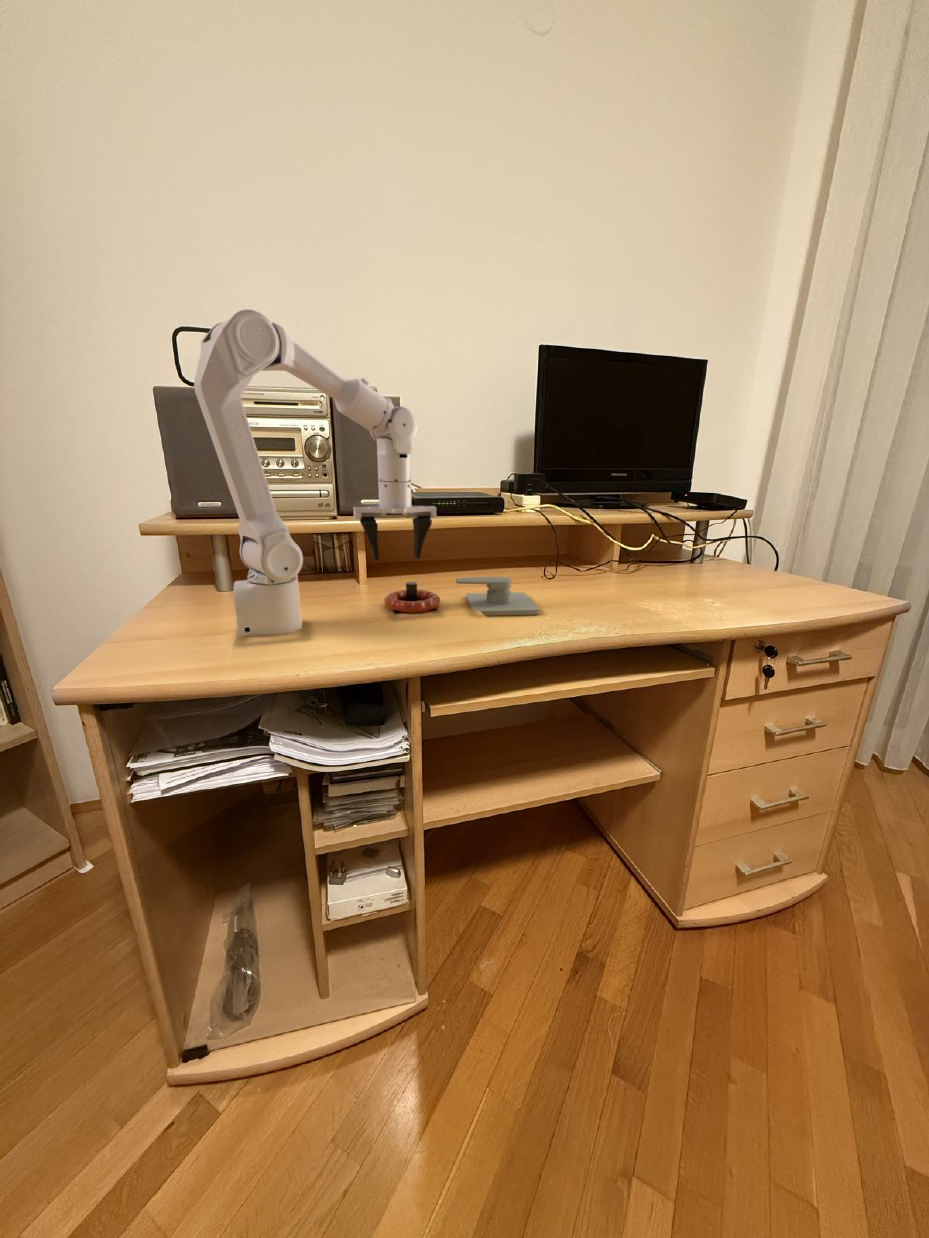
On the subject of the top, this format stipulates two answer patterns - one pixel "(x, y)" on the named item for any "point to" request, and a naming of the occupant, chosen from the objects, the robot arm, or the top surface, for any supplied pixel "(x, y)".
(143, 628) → the top surface
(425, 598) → the ring
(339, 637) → the top surface
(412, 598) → the peg stand
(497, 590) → the shower valve
